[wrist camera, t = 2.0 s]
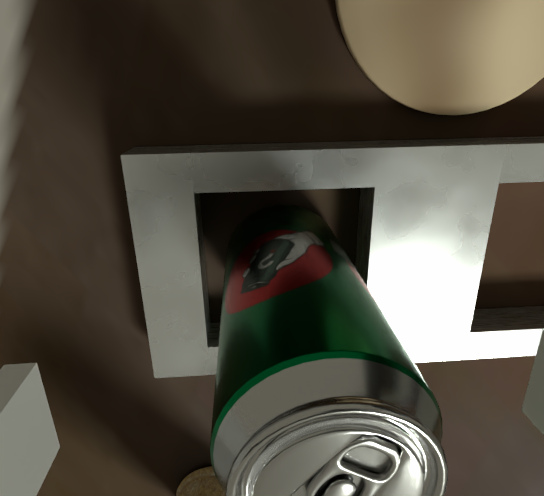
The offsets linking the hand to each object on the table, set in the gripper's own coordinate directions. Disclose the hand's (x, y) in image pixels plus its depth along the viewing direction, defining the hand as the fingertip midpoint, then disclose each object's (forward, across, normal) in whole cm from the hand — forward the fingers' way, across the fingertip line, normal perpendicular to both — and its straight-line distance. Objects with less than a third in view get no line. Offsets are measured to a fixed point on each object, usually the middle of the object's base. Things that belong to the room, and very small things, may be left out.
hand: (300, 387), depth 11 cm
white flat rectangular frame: (+9, +6, 0) cm, 11 cm away
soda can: (+9, 0, 0) cm, 9 cm away
